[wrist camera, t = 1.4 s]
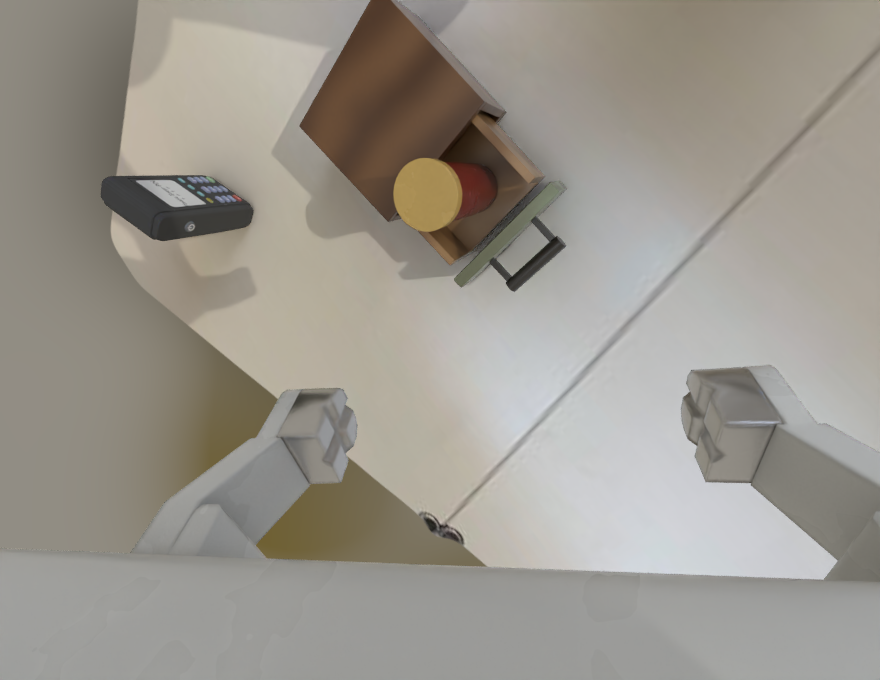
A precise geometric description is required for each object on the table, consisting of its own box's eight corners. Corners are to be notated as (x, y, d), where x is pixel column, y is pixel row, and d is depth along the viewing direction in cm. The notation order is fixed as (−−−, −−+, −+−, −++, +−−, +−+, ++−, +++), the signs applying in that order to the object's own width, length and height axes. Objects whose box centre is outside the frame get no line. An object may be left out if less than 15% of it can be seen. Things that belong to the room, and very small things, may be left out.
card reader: (258, 205, 60) (160, 214, 47) (252, 230, 62) (155, 246, 49) (209, 171, 61) (100, 171, 48) (204, 196, 63) (97, 203, 50)
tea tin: (460, 152, 46) (404, 146, 34) (508, 172, 45) (468, 173, 33) (443, 203, 49) (385, 215, 37) (488, 223, 48) (443, 242, 36)
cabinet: (506, 112, 45) (484, 101, 38) (420, 214, 52) (388, 222, 45) (418, 16, 45) (378, -14, 37) (344, 132, 52) (298, 126, 45)
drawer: (594, 218, 45) (590, 225, 39) (502, 299, 51) (488, 316, 46) (485, 100, 45) (465, 89, 39) (407, 197, 51) (380, 201, 45)
